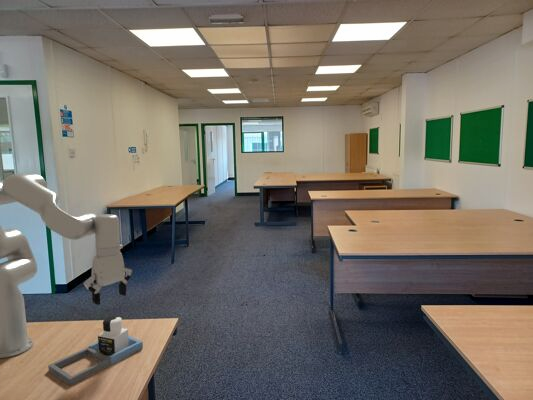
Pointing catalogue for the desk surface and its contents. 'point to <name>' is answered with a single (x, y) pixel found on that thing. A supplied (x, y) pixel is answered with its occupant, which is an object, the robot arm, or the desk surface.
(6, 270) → the robot arm
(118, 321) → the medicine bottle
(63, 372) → the frame
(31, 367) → the desk surface
